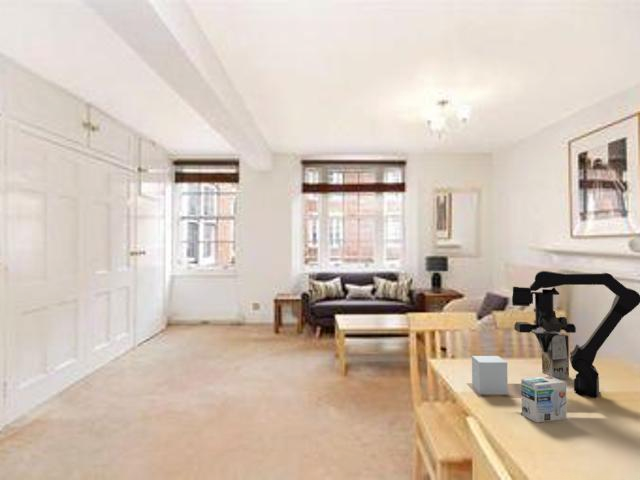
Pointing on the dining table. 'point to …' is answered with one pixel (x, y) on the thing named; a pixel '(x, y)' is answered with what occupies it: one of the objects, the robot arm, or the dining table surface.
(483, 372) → the carton
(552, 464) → the dining table surface
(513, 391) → the podium board
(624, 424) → the dining table surface
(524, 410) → the light bulb box
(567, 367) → the coffee box
